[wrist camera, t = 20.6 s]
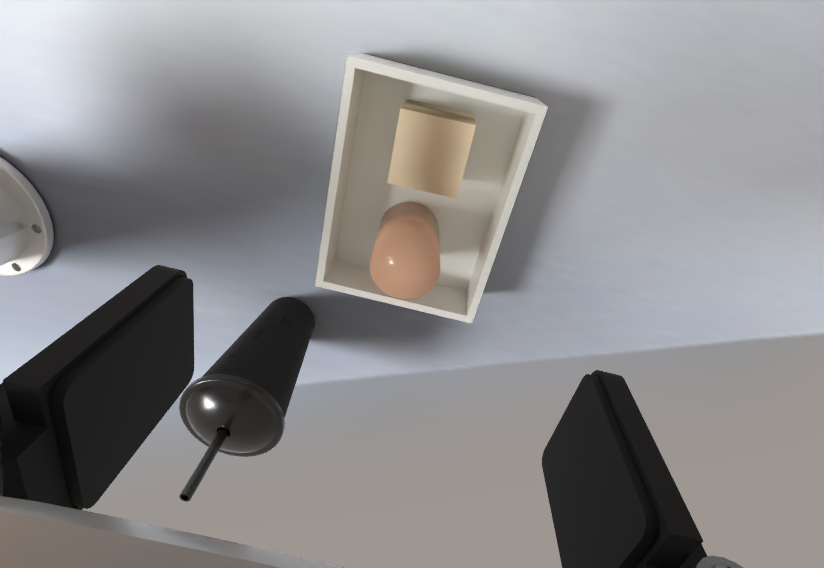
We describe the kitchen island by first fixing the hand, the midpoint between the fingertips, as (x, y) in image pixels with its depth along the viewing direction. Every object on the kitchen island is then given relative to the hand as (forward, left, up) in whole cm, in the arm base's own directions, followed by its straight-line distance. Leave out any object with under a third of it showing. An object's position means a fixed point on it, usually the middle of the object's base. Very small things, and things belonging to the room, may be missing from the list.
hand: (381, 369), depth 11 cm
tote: (0, -4, -28) cm, 29 cm away
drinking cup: (-10, -20, -28) cm, 36 cm away
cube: (0, 0, -28) cm, 28 cm away
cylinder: (0, -8, -27) cm, 28 cm away
